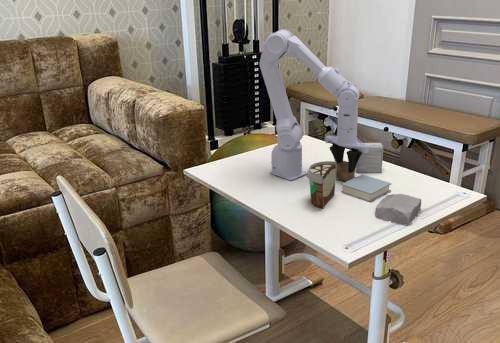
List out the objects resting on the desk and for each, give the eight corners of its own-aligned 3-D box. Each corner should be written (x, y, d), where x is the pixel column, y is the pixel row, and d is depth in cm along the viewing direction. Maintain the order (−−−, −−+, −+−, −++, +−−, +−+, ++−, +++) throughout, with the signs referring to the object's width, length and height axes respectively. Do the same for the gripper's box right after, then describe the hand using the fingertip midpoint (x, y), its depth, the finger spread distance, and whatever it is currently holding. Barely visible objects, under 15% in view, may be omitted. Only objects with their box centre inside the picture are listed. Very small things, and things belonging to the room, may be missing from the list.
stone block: (372, 225, 128) (412, 226, 123) (370, 207, 127) (409, 208, 122) (387, 208, 138) (424, 209, 132) (385, 192, 137) (422, 192, 131)
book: (341, 192, 143) (341, 184, 142) (361, 181, 150) (362, 174, 149) (370, 202, 136) (371, 193, 135) (390, 191, 143) (391, 183, 142)
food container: (315, 190, 145) (316, 158, 142) (336, 193, 142) (337, 161, 139) (299, 207, 135) (299, 173, 131) (321, 211, 132) (321, 176, 129)
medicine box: (379, 168, 160) (381, 142, 156) (382, 173, 155) (383, 147, 152) (354, 168, 160) (356, 142, 157) (356, 173, 156) (357, 147, 153)
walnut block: (335, 177, 152) (336, 164, 150) (343, 174, 155) (344, 160, 153) (346, 181, 149) (347, 167, 148) (354, 177, 152) (355, 163, 150)
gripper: (376, 128, 143) (373, 172, 148) (336, 119, 153) (334, 160, 158) (361, 134, 139) (359, 178, 144) (321, 124, 149) (320, 166, 154)
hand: (345, 169), depth 151 cm, fingers closed on walnut block, 4 cm apart
